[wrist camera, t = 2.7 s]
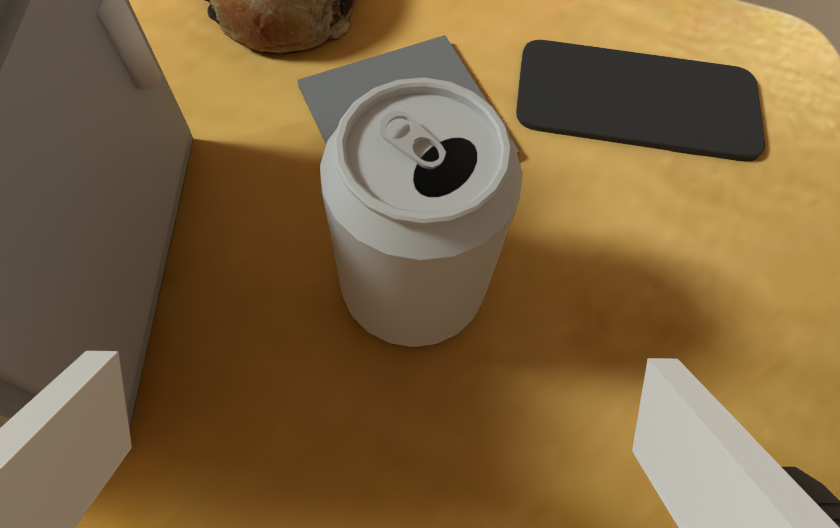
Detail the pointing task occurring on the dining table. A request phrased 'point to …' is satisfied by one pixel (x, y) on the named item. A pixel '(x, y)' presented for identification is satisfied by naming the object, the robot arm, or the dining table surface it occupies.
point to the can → (418, 207)
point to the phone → (640, 100)
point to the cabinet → (81, 190)
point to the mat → (381, 79)
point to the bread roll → (281, 22)
